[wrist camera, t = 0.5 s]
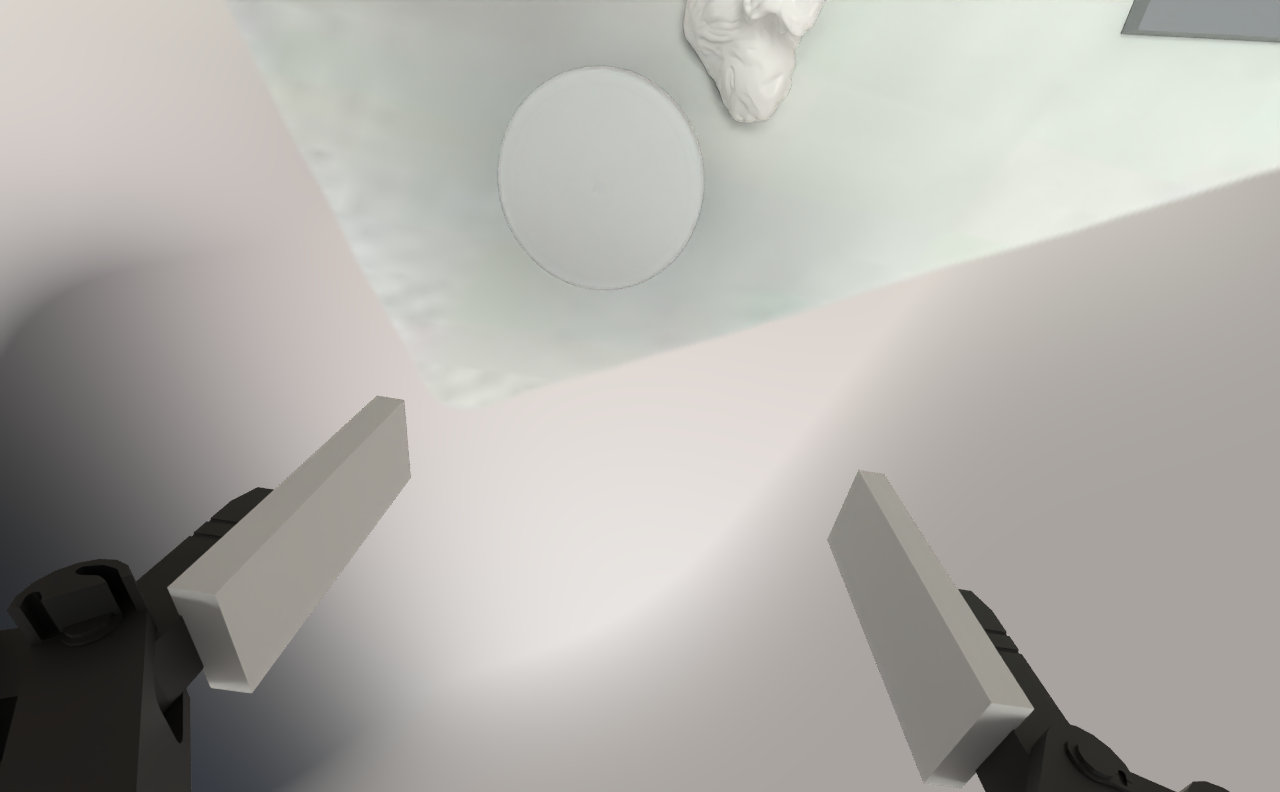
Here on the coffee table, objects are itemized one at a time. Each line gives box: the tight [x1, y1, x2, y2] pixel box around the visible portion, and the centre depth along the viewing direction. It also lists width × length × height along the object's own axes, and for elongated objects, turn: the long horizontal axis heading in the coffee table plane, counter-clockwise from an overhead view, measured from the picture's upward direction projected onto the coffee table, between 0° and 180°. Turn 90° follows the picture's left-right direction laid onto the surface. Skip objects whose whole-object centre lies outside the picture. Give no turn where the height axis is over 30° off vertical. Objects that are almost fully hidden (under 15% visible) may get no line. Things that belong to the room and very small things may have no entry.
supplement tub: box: [497, 66, 704, 290], centre depth 28 cm, size 10×10×15 cm
